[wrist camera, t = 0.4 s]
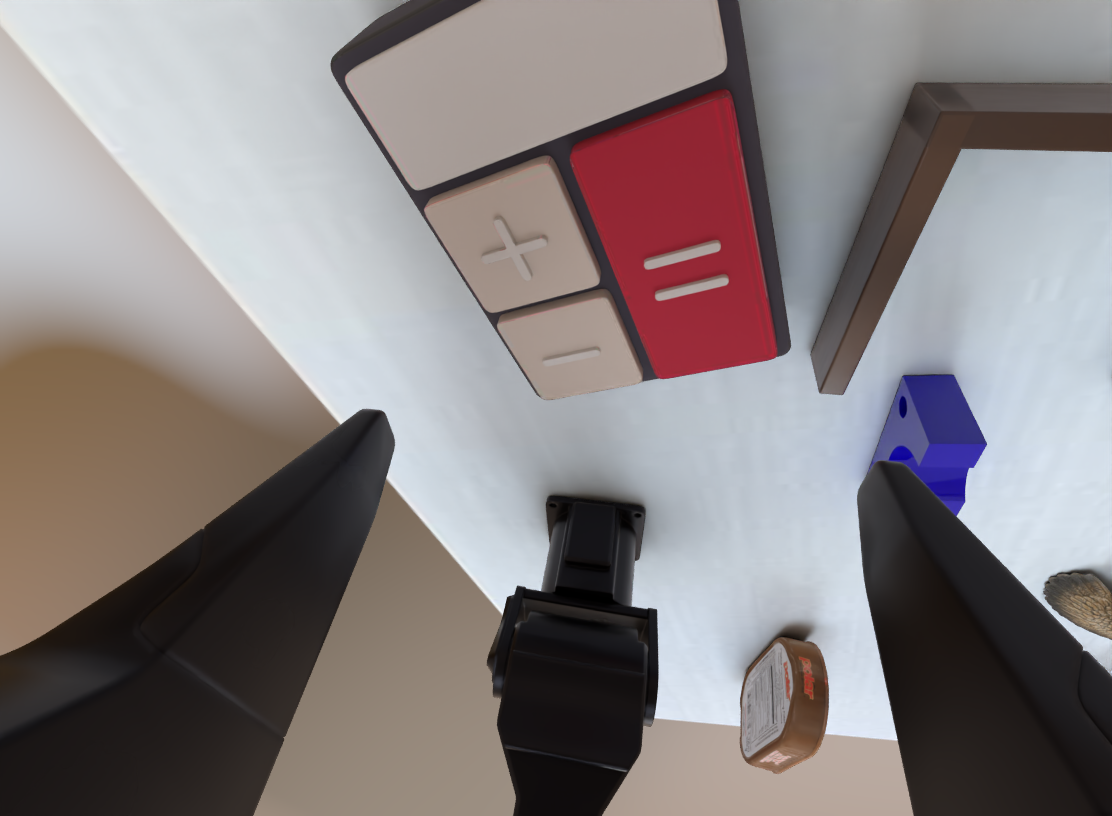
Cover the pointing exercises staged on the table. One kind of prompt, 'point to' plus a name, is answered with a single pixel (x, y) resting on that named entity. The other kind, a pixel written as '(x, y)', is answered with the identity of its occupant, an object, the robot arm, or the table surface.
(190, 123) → the table surface
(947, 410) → the cable holder
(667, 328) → the calculator
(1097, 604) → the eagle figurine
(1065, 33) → the table surface
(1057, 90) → the square wooden border
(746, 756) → the tin
